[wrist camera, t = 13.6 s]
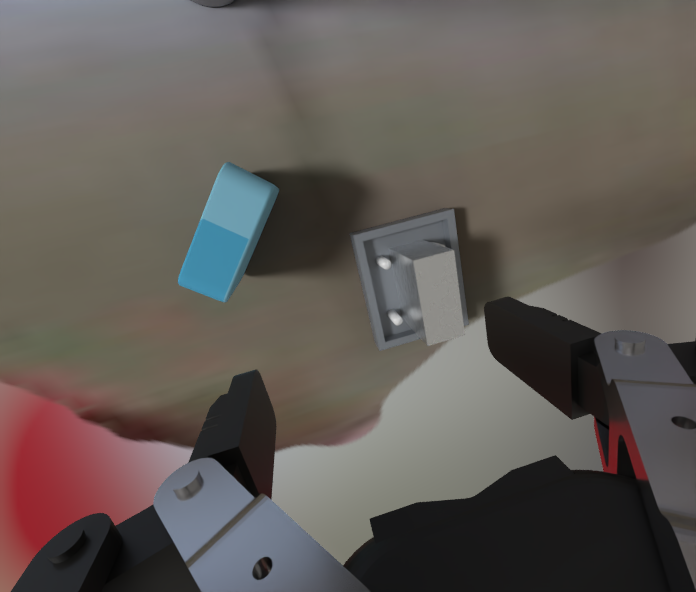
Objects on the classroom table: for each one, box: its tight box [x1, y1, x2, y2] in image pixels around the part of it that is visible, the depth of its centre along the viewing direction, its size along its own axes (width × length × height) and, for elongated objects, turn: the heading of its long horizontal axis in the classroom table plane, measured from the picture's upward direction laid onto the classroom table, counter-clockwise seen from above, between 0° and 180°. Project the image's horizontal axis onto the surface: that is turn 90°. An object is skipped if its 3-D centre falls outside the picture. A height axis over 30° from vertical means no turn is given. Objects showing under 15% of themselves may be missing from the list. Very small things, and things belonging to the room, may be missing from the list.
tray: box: [350, 208, 469, 351], centre depth 43 cm, size 16×13×4 cm
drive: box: [389, 240, 465, 346], centre depth 40 cm, size 10×4×9 cm, turn 13°
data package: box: [178, 162, 279, 302], centre depth 34 cm, size 12×4×12 cm, turn 153°
